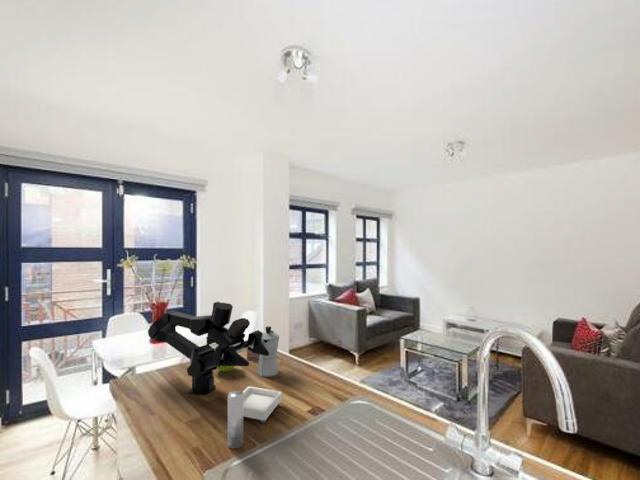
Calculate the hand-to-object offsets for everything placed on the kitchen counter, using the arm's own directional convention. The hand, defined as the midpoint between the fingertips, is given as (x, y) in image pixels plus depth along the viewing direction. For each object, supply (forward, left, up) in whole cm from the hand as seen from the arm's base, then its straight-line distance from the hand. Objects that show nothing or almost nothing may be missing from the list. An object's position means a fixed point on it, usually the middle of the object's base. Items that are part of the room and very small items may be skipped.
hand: (259, 359), depth 97 cm
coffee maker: (-10, +27, -16) cm, 33 cm away
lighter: (-21, +37, -16) cm, 45 cm away
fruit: (-26, +22, -16) cm, 38 cm away
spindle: (+1, -15, -16) cm, 22 cm away
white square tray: (-1, 0, -16) cm, 16 cm away
